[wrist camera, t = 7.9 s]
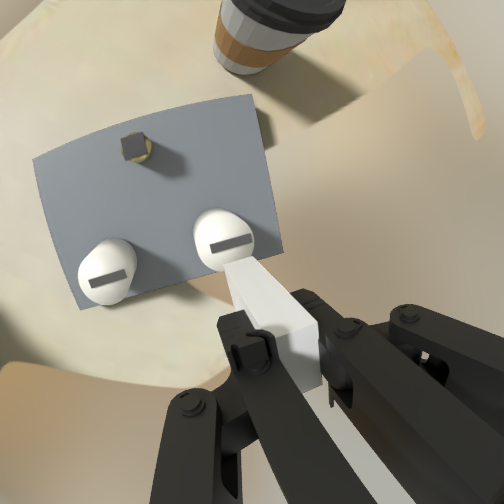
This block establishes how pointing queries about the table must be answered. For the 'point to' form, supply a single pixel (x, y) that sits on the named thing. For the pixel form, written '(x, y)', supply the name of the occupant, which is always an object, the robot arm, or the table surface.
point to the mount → (159, 191)
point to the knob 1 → (108, 271)
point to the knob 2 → (222, 238)
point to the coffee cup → (267, 30)
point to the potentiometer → (136, 147)
